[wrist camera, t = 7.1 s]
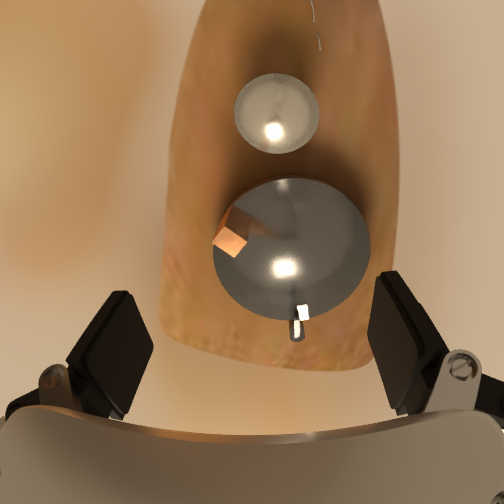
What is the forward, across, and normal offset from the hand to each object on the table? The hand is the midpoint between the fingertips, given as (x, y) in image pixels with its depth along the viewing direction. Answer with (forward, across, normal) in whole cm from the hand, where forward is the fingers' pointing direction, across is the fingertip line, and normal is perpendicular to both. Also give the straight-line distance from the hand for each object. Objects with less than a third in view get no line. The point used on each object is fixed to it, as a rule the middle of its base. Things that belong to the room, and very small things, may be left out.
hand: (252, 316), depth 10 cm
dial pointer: (+18, -2, +15) cm, 24 cm away
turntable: (+17, -2, +6) cm, 18 cm away
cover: (+18, -2, -7) cm, 20 cm away
